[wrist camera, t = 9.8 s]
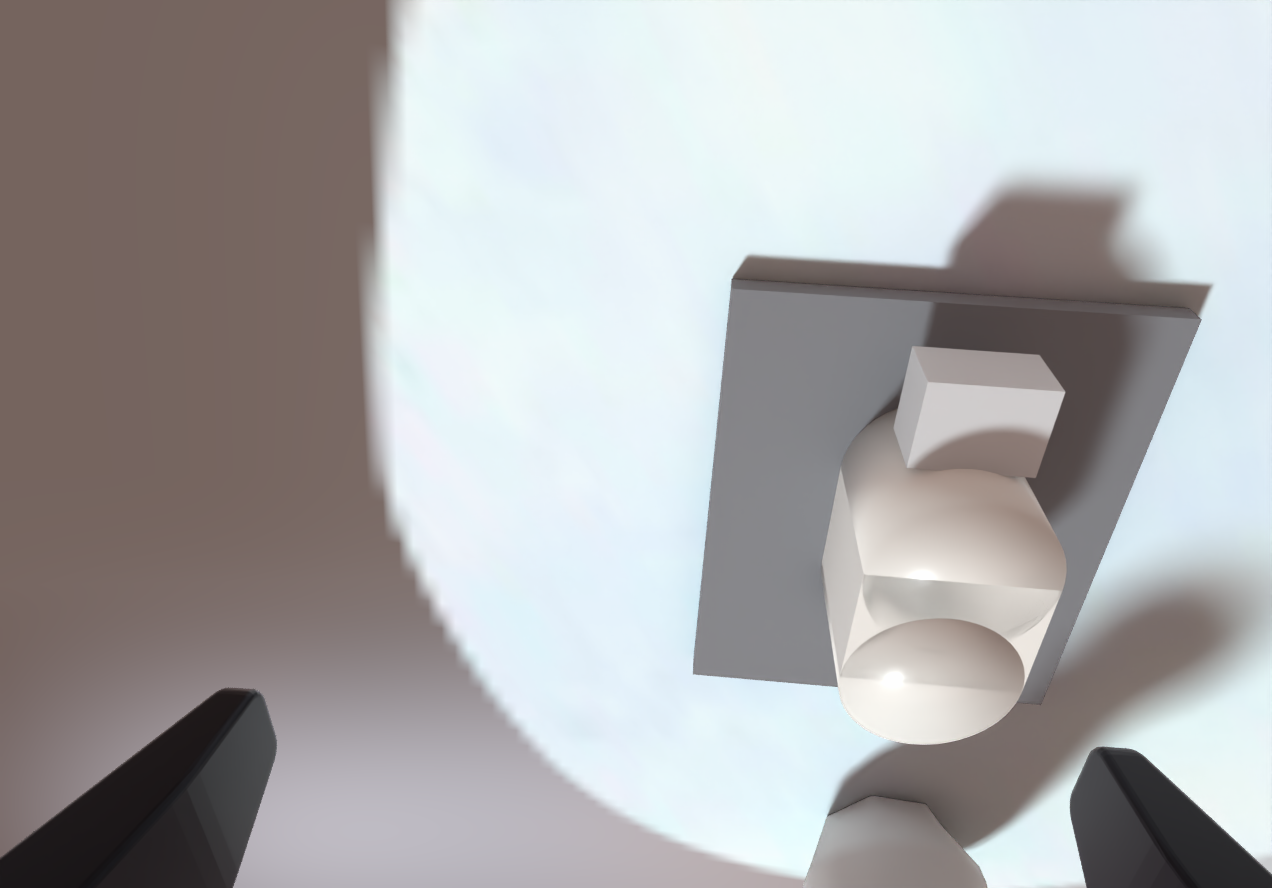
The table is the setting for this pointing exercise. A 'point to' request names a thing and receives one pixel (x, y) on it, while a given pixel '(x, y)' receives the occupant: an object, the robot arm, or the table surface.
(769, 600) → the coaster
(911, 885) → the salt shaker
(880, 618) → the plug
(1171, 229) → the table surface
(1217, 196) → the table surface
